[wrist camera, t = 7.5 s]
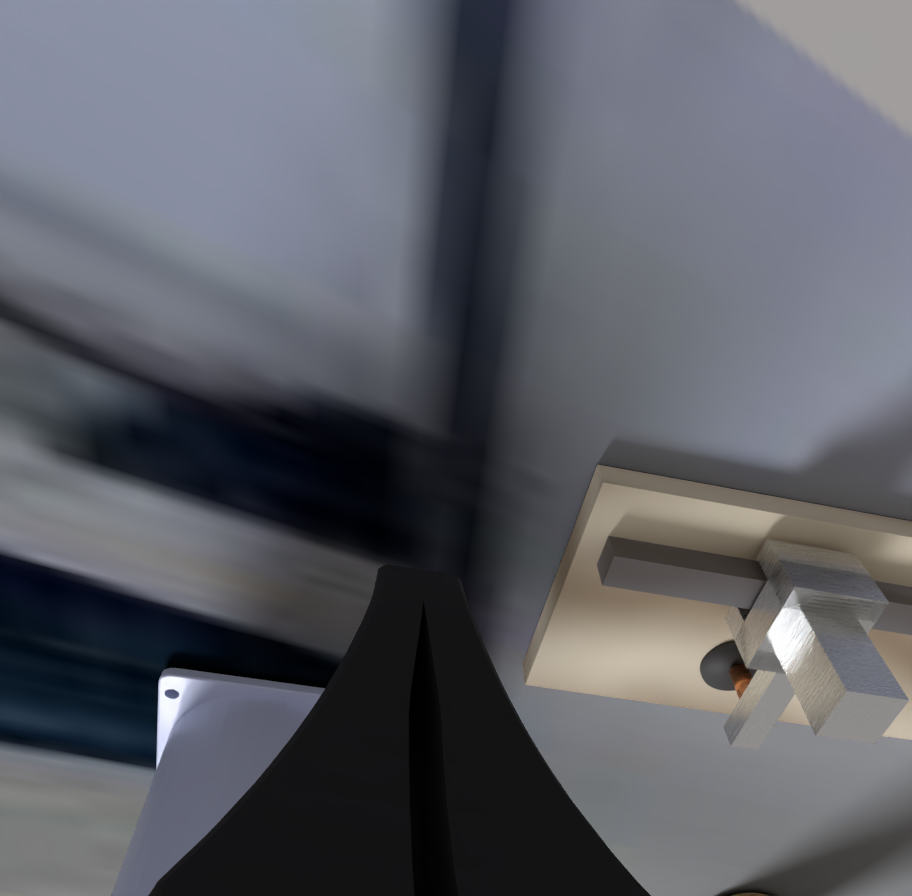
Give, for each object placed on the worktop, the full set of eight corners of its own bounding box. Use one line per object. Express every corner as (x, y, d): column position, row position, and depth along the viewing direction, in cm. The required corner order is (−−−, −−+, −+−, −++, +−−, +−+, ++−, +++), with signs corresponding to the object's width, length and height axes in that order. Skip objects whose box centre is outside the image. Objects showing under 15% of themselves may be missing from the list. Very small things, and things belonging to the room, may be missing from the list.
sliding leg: (762, 701, 28) (822, 838, 24) (685, 689, 28) (731, 827, 23) (855, 554, 24) (946, 682, 20) (767, 539, 24) (840, 666, 20)
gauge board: (1001, 733, 31) (1034, 777, 29) (522, 663, 29) (527, 707, 27) (1151, 564, 27) (1200, 605, 25) (597, 464, 24) (609, 501, 22)
